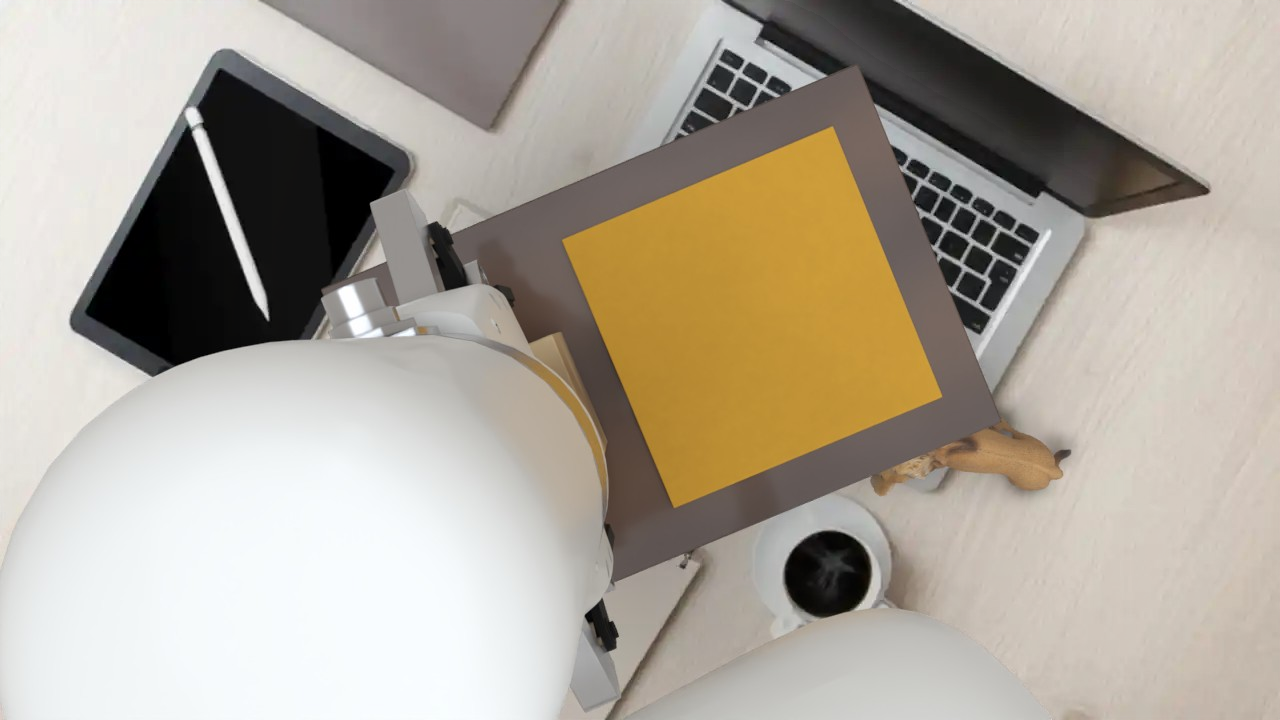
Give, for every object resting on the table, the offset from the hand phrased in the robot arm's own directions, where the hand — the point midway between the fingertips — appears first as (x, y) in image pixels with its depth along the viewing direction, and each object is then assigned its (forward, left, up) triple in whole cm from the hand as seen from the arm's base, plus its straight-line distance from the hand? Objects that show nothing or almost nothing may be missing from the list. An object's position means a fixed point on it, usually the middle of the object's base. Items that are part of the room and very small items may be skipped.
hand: (525, 427), depth 42 cm
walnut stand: (0, -6, -29) cm, 30 cm away
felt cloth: (0, -10, -3) cm, 11 cm away
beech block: (0, 0, -3) cm, 3 cm away
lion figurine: (-14, -21, -30) cm, 39 cm away
